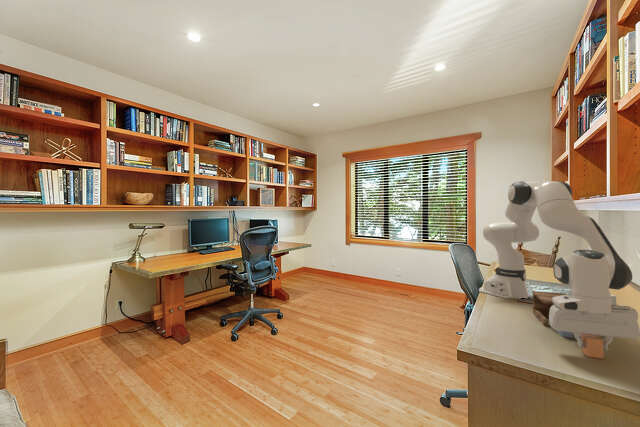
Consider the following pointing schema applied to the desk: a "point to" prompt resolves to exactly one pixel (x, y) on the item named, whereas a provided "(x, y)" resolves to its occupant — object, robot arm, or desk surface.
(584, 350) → the cube on a stick
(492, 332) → the desk surface
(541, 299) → the shelf
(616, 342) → the desk surface
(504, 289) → the robot arm
